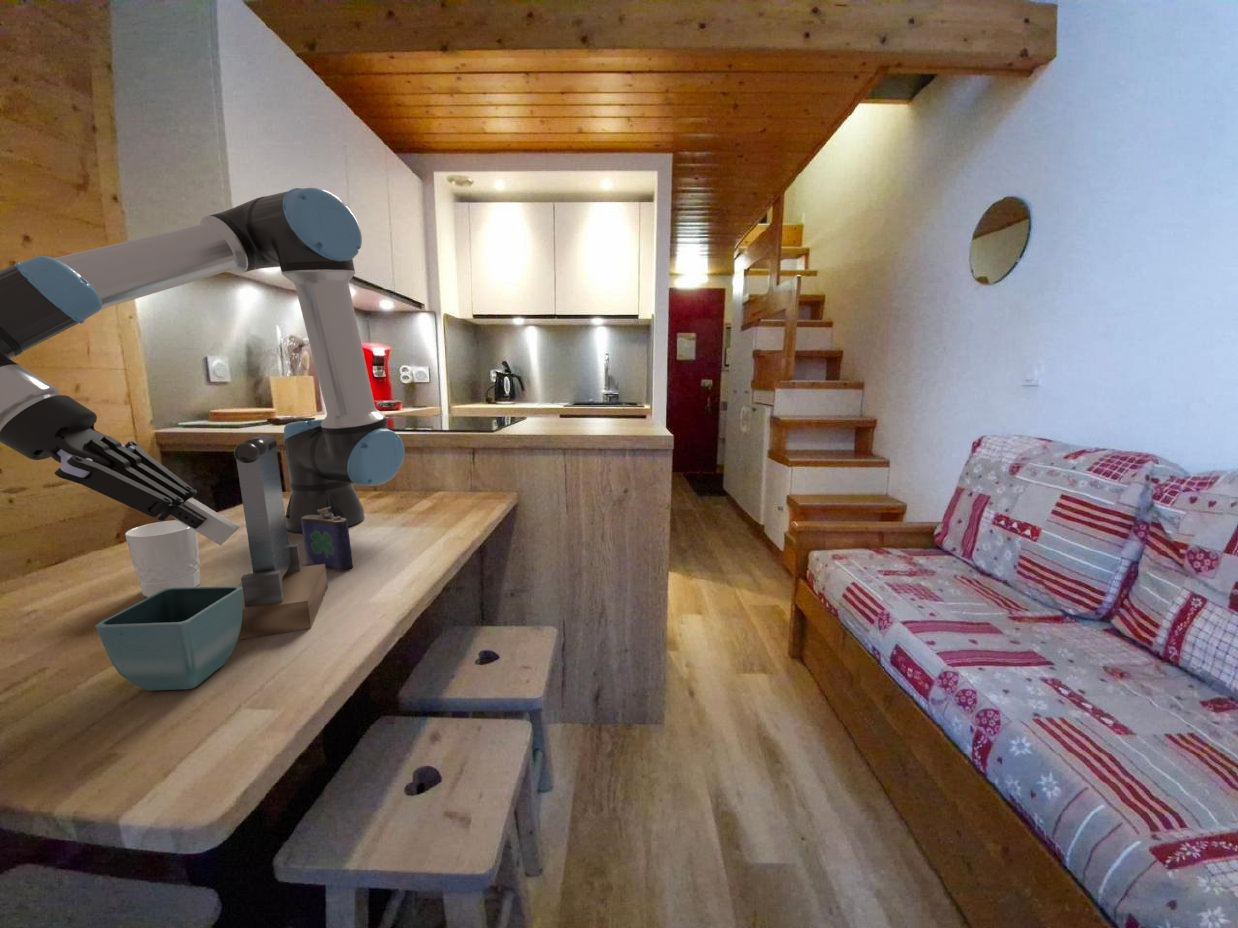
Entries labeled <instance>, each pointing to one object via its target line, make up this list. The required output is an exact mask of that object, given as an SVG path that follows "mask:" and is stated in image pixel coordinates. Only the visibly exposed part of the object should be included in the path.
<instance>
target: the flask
mask: <svg viewBox="0 0 1238 928" xmlns="http://www.w3.org/2000/svg"><path fill="white" fill-rule="evenodd" d="M328 508H329V509H330V508H331V507H325V508H323V509H320V510H319V509H318V510H317V511H318V512H319V513H320V515H306V516H303V517H301V525H302V532H303V533H302V536H303V538H302V539H303V545H304V555H305V556H304V558H305V565H306V566H311V565H320V564H325V568H326V570H330V569H332V570H333V571H335V570H337V571H338V572H340V571H342V572H347V571H346V570H349V571H351V570H353V569H354V568H353V567H354V564H353V555H352V548H351V540H350V539H351V538H350V532H349V531H350V530H349V527H348V521H347V519H345V518H341V516H338V517H334V516H333V513H331V512H328ZM352 568H353V569H352ZM350 569H351V570H350ZM337 571H336V572H337Z"/></svg>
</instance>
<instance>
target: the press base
mask: <svg viewBox="0 0 1238 928" xmlns="http://www.w3.org/2000/svg"><path fill="white" fill-rule="evenodd" d="M289 548H290V556H291V565H290V567H289V568H288V570H287V572H286V573H285V575H284V577H283V578H282V575H281V570H278V571H270V572H262V573H254V574H253V572H248V573H247V574H243V575H242V577H240V583H239V584H238V585H237V586H241V587H243V588H242V623H241V630H240V634H239V637H238V640H237V641H240V640H247V639H253V638H259V637H265V636H271V635H277V634H284V633H288V632H296V631H300V630H306V629H307V630H308V629H311V628H312V627H313V625H314V622H315V620H316V618H317V615H318V612H319V610H320V607H321V605H322V602H323V601H324V598H323V597H325V595H326V593H327V591H326V590H328V588H329V586H328V578H327V569H326V568H325V564H320V565H311V566H307V565H306V566H302V559H301V551H300V545H299V543H295V544H294V543H291V544H289ZM325 592H326V593H325Z"/></svg>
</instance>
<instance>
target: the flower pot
mask: <svg viewBox="0 0 1238 928" xmlns="http://www.w3.org/2000/svg"><path fill="white" fill-rule="evenodd" d="M242 588H243V587H241V586H238V585H236V586H200V587H199V586H196V587H190V588H167V589H164V590H162V591H159V592H158V593H156V594H154V595H152V596H150V597H146V598H144V599H142V600H140V601H139V602H137V603H135V604H132V605H131V606H128V607H127V608H124V609H123V610H120V611H118V612H117V613H115V614H113V615H112V616H110V617H107V618H104V620H102V621H100V622H99V623H96V624H95V629H96V631H97V634H98V635H99V638H100V640H101V643H102V645H103V647H104V649H105V652H106V654H107V656H108V658H109V661H110V662H111V664H112V666H113V667H114V669H115V670H116V671H117V672H118V673H119V675H121V676H122V677H123V678H124V679H126V680H127V681H128V682H129V683H131V684H132V685H135V686H137V687H138V688H141V689H142V690H144V691H173V690H174V691H175V690H192V689H195V688H197V687H198V686H199V685H200V684H201V683H203V682H204V681H205V680H206V679H208V678H209V677H210V676H212V675H213V673H215V672H217V670H219V669H220V668H221V667H222V666H224V665H225V664H226V663H227V661H228V660H229V658H230V656H231V655H232V653H233V651H234V649H235V647H236V645H237V643H238V641H239V640H238V637H239V634H240V630H241V623H242Z"/></svg>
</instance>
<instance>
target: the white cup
mask: <svg viewBox="0 0 1238 928" xmlns="http://www.w3.org/2000/svg"><path fill="white" fill-rule="evenodd" d="M125 539H126V542H127V546H128V549H129V554H130V558H131V561H132V565H133V568H134V569H135V570H134V571H135V573H136V577H137V579H138V580H139V585H140V589H141V592H142V593H141V594H142V596H144V597H146V598H148V597H150V596H152V595H154V594H156V593H158V592H159V591H162V590H164V589H167V588H190V587H199V585H200V584H201V573H200V566H201V562H200V554H199V550H200V549H199V540H198V532H197V531H195V530H193V529H192V528H190V527H188V526H186V525H185V524H183V523H181V522H180V521H178V520H176V519H174V520H166V521H165V520H164V521H158V522H157V521H156V522H151V523H147V524H144V525H140V526H136V527H133V528H131V529H129V530H127V531H126V532H125Z"/></svg>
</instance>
